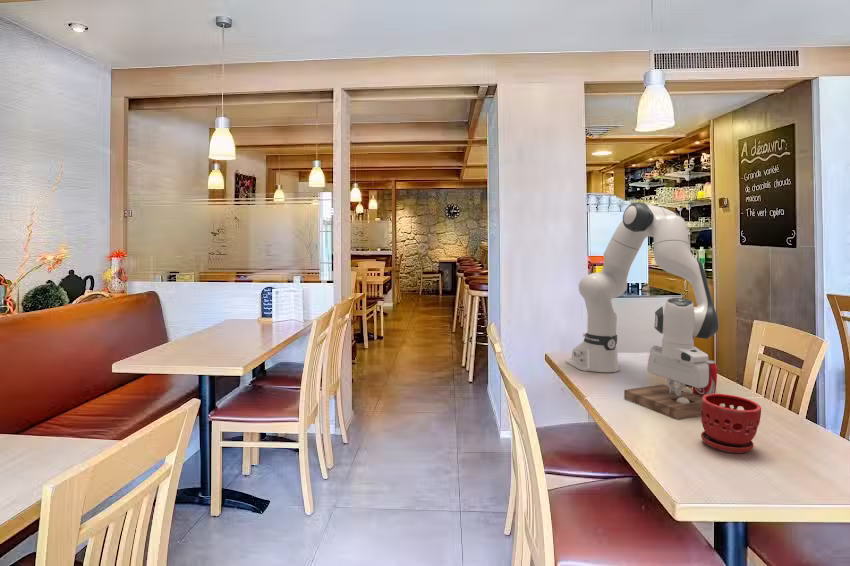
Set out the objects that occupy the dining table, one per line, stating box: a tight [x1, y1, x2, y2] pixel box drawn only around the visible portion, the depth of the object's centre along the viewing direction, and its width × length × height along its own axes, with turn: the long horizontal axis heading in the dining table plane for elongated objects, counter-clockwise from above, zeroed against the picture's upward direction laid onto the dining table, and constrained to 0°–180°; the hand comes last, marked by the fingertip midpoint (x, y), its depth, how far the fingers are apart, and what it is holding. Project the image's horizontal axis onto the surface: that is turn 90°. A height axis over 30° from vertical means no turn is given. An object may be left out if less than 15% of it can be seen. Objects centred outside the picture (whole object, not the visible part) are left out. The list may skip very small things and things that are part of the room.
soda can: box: [691, 359, 718, 397], centre depth 175 cm, size 7×7×12 cm
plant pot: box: [700, 393, 762, 454], centre depth 133 cm, size 13×13×12 cm
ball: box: [676, 397, 690, 404], centre depth 161 cm, size 4×4×4 cm
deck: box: [623, 384, 702, 420], centre depth 166 cm, size 21×17×3 cm
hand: (675, 394), depth 163 cm, fingers closed
